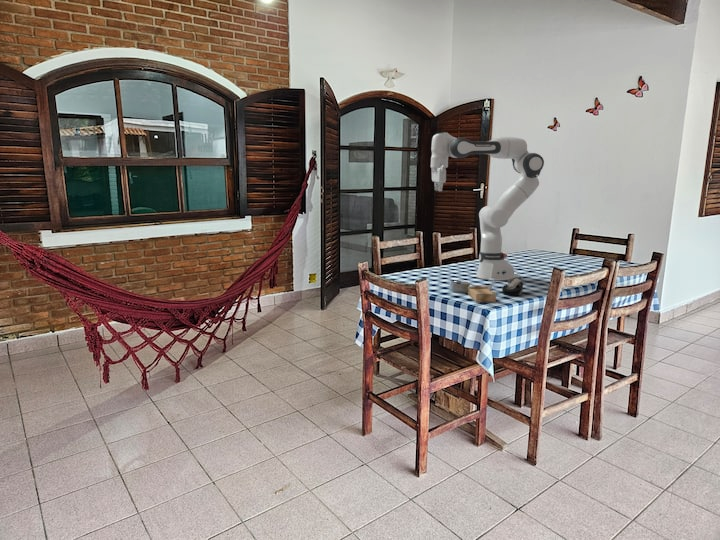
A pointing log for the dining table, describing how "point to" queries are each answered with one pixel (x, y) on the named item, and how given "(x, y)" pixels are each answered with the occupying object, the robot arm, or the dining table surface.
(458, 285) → the housing
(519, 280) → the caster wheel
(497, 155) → the robot arm
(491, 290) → the bushing
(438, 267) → the dining table surface
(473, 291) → the stand
